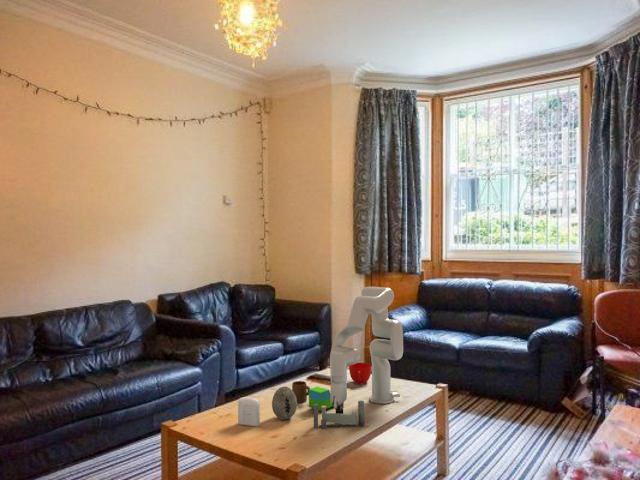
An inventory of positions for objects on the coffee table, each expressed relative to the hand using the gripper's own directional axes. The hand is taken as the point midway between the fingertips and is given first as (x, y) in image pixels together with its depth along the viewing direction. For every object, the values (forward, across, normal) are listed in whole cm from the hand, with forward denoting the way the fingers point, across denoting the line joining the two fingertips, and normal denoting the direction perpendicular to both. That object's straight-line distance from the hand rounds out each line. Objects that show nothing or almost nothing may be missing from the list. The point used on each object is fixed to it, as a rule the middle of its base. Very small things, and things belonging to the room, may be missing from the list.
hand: (339, 417), depth 228 cm
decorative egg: (+2, +5, -26) cm, 26 cm away
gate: (+1, +3, +1) cm, 3 cm away
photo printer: (+2, +18, -38) cm, 42 cm away
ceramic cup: (+3, -60, -10) cm, 61 cm away
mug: (+2, -19, -28) cm, 34 cm away
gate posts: (+2, +6, +2) cm, 6 cm away
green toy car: (+3, -15, -14) cm, 21 cm away
